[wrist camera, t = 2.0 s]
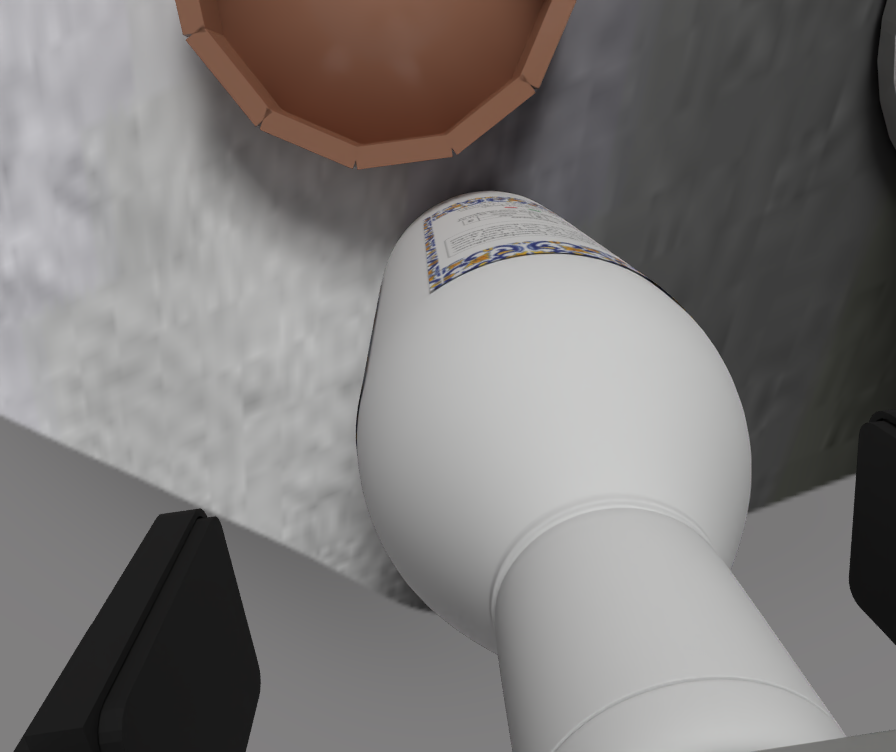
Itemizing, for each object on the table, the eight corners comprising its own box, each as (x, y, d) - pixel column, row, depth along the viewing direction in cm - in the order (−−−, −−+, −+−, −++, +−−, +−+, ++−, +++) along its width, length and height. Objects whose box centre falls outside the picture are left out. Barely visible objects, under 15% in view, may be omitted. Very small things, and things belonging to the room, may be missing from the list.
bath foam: (499, 426, 26) (720, 1220, 7) (340, 313, 25) (104, 968, 6) (629, 275, 25) (1337, 802, 6) (467, 143, 23) (723, 277, 4)
